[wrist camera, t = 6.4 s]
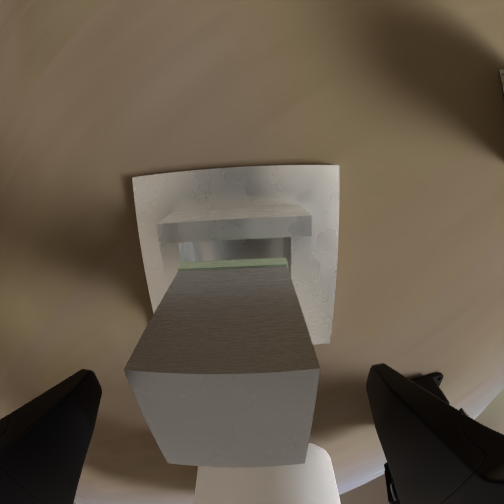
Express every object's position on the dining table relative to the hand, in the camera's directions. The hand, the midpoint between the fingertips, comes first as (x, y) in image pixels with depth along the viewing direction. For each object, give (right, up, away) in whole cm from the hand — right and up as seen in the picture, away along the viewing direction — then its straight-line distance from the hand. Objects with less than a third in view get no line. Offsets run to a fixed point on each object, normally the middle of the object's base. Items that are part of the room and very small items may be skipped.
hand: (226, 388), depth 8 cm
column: (0, +2, +5) cm, 5 cm away
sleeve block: (0, +3, +10) cm, 11 cm away
